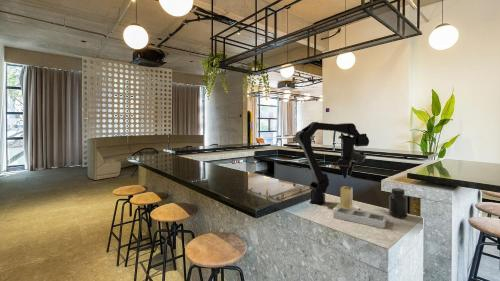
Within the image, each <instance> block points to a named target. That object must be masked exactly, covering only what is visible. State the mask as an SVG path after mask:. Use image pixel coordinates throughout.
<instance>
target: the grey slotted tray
mask: <svg viewBox="0 0 500 281" xmlns="http://www.w3.org/2000/svg"><path fill="white" fill-rule="evenodd" d="M332 216H333V218H334V219H338V220H342V221H348V222H353V223H357V224H361V225H362V224H363V225H366V226H372V227H376V228H379V229H380V228H381V229H385V228H386V226H387V223H388V215H387V214H381V213H374V212H371V211H365V210H360V209H359V210H354V209H349V208H344V207H338V208H337V209H336V210H333V215H332Z"/></svg>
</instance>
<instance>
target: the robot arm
mask: <svg viewBox="0 0 500 281" xmlns="http://www.w3.org/2000/svg"><path fill="white" fill-rule="evenodd" d="M317 131H332V132H337V133H341V134H340V136H338V139H341V141H342V142H341V149H340V151H341V156H340V158H339V159H338V160H337V161H336V165H337V167H338V168H339V170H340V172H341V175H342V176H343V178H344V179H347V177H348V175H349V176H351V175H352V172H353V168H354V165H355V164H357V163H358V162H359V163H364V162H365V159H366V158H367V155H366V154H365V152H364V151H360V152H357V151H356V149H355V148H356V147H357V148H361V147H368V146H369V144H370V140H369V137H368V135H367V133H360V132H359V131H358V129H357V126H356V125H355V124H354V123H351V122H349V123H347V122H346V123H345V122H343V123H325V122H318V121H312V122H311V123H309V124H308V125H307V126H305V127H304V128H302V129H301V130H298V131H297V132H296V133H295V135H294V138H295V140H296V143H298V146H300V147H301V149H302V150H303V153H304V155H305V158H306V160H307V163H308V165H309V167H310V170H311V173H312V182H311V183H310V184H309V185H308V187H309V189H310V201H309V204H314V205H320V206H323V204H324V203H326V192H327V188H328V187H329V186H330V179H329V177H328V174H327V173H326V172H325V171H322V170H321V167H320V165H319V162H318V160H317V157H316V155H315V152H314V149H313V147H312V138H311V137H313V136H314V135H315V134H316V132H317ZM354 147H355V148H354Z"/></svg>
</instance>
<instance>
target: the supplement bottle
mask: <svg viewBox="0 0 500 281" xmlns="http://www.w3.org/2000/svg"><path fill="white" fill-rule="evenodd" d="M388 213H389V214H388V215H389V216H390V217H392V218H394V219H401V220H402V219H406V218H407V217H408V197H407V196H406V195H405V189H403V188H399V187H398V188H397V187H394V188H393V187H392V188H391V194H390V195H389V196H388Z"/></svg>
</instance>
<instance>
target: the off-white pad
mask: <svg viewBox="0 0 500 281" xmlns="http://www.w3.org/2000/svg"><path fill="white" fill-rule="evenodd" d="M338 207H340V203H337V205H335V206H334V207H333V208H332V210H333V211H335V210H336V209H337V208H338ZM352 209H354V210H360V207H359V206H355V205H352Z"/></svg>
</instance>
